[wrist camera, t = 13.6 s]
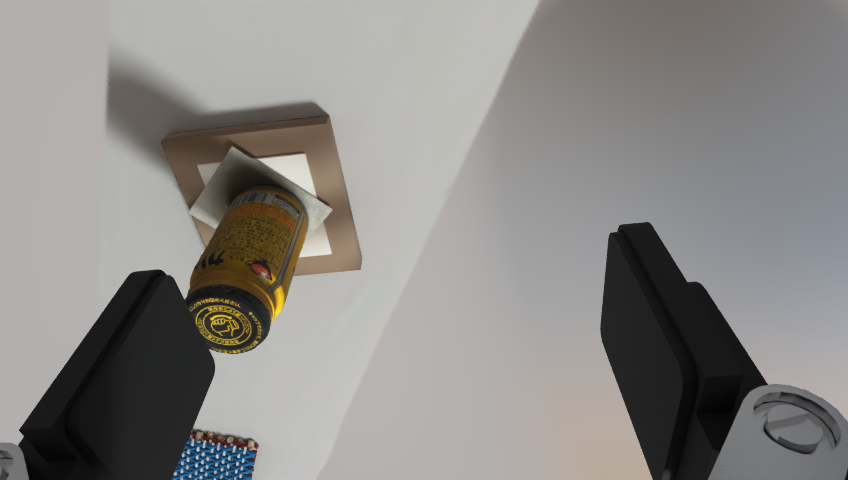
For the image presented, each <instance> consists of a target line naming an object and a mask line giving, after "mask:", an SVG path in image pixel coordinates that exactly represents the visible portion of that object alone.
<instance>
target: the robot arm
mask: <svg viewBox="0 0 848 480" xmlns="http://www.w3.org/2000/svg"><path fill="white" fill-rule="evenodd" d="M600 329H601V337H602V342H603V345H604V348H605V351H606V353H607V356H608V359H609V362H610V364H611V367H612V370H613V373H614V375H615V378H616V381H617V383H618V386H619V389H620V392H621V394H622V397H623V400H624V402H625V405H626V408H627V411H628V413H629V416H630V419H631V421H632V424H633V427H634V430H635V432H636V435H637V438H638V440H639V443H640V446H641V449H642V451H643V454H644V457H645V459H646V462H647V465H648V468H649V470H650V473H651V476H652V478H653V480H848V422H847V420H846V419H845V418H844V417H843V416H842V415H841V413H840V412H839V411H838V410H837V409H836V408H835V407H833V406H832V405H831V404H829V403H828V402H827V401H826V400H824V399H823V398H821V397H819V396H817V395H815V394H813V393H811V392H809V391H807V390H804V389H800V388H797V387H793V386H790V385H778V384H772V385H768V384H767V383H766V381H765V379H764V378H763V376H762V375H761V373H760V372H759V370H758V369H757V367H756V366H755V364H754V363H753V361H752V360H751V358H750V357H749V355H748V353H747V352H746V350H745V349H744V348H743V346H742V344H741V343H740V341H739V340H738V338H737V337H736V335H735V334H734V332H733V331H732V329H731V327H730V326H729V324H728V323H727V321H726V320H725V318H724V317H723V315H722V314H721V312H720V311H719V309H718V308H717V306H716V305H715V303H714V301H713V300H712V298H711V297H710V295H709V294H708V292H707V291H706V289H705V288H704V287H703V286H702V285H701V284H700V283H698V282H687V281H686V279H685V278H684V276H683V274H682V273H681V271H680V270H679V268H678V267H677V265H676V263H675V262H674V260H673V258H672V257H671V255H670V254H669V252H668V250H667V249H666V247H665V246H664V244H663V242H662V241H661V239H660V238H659V236H658V234H657V233H656V231H655V230H654V228H653V226H652V225H651V224H650V223H649V222H644V223H633V224H623V225H620V226H619V228H618V231H617V232H613V233H610V235H609V239H608V250H607V261H606V272H605V283H604V294H603V305H602V315H601V328H600ZM214 373H215V363H214V359H213V357H212V355H211V353H210V351H209V349H208V347H207V345H206V343H205V341H204V339H203V337H202V335H201V333H200V330H199V328H198V326H197V324H196V322H195V320H194V318H193V316H192V314H191V312H190V310H189V308H188V306H187V304H186V302H185V300H184V298H183V296H182V294H181V292H180V290H179V288H178V286H177V284H176V282H175V280H174V278H173V277H172V276H170V275H166V274H165V272H163V271H162V270H159V269H158V270H148V271H137V272H133V273H131V274H130V275H129V276H128V277H127V278H126V280H125V281H124V283H123V284H122V286H121V287H120V288H119V290H118V291H117V293H116V294H115V295H114V297H113V298H112V300H111V301H110V302H109V304H108V305H107V307H106V308H105V310H104V311H103V312H102V314H101V315H100V317H99V318H98V319H97V321H96V322H95V324H94V325H93V326H92V328H91V329H90V331H89V332H88V333H87V335H86V336H85V338H84V339H83V341H82V342H81V343H80V345H79V346H78V348H77V349H76V350H75V352H74V353H73V355H72V356H71V358H70V359H69V360H68V362H67V363H66V365H65V366H64V367H63V369H62V370H61V372H60V373H59V374H58V376H57V377H56V379H55V380H54V381H53V383H52V384H51V386H50V388H48V390H47V391H46V393H45V394H44V396H43V397H42V398H41V400H40V401H39V403H38V404H37V405H36V407H35V408H34V410H33V411H32V412H31V414H30V415H29V417H28V418H27V419H26V421H25V423H24V424H23V425H22V427H21V428H20V429H19V431H20V432H21V433H22V434H23V435H24V437H23V439H22V440H21V442H20V443H19V445H18V446H17V445H15V444H12V443H0V480H172V478H173V475H174V473H175V470H176V468H177V465H178V463H179V460H180V458H181V455H182V453H183V450H184V448H185V446H186V443H187V441H188V438H189V436H190V433H191V431H192V428H193V426H194V423H195V421H196V419H197V416H198V414H199V411H200V409H201V406H202V404H203V401H204V399H205V396H206V394H207V391H208V389H209V387H210V384H211V382H212V379H213V377H214Z"/></svg>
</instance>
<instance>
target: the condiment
mask: <svg viewBox="0 0 848 480" xmlns="http://www.w3.org/2000/svg"><path fill="white" fill-rule="evenodd" d="M225 206H226V207H227V208H225ZM332 210H333V209H331V208H330V207H328V206H327V205H325V204H324V203H322V202H321V201H319V200H318V199H316V198H315V197H313V196H312V195H310V194H308V193H306V192H305V191H304V190H302V189H301V188H299V187H298V186H296V185H294V184H293V183H291V182H289V181H288V180H286V179H284V178H283V177H281V176H279V175H277V174H275V173H274V172H272V171H271V170H270V169H268V168H267V167H265V166H263V165H262V164H261V163H259V162H257V161H256V160H254V159H252V158H250V157H248V156H247V155H245V154H243V153H242V152H240V151H239V150H237V149H236V148H234V147H233V146H232V147H231V149H230V150H229V152H228V153H227V155H226V156H225V158H224V159H223V161H222V162H221V164H220V165H219V167H218V168H217V170H216V171H215V173H214V175H213V176H212V177H211V179H210V181H209V182H208V184H207V185H206V186H205V188H204V190H203V191H202V193H201V194H200V196H199V197H198V199H197V200H196V202H195V203H194V205H193V206H192V208H191V209H190V211H189V212H188V213H189V214H191V215H192V216H194V217H195V218H197V219H199V220H201V221H203V222H205V223H206V224H208V225H209V226H211V227H213V228H215V229H216V230H215V232H214V234H213V236H212V238H211V239H210V241H209V243H208V245H207V247H206V249H205V251H204V252H203V254H202V255H201V257H200V259H199V261H198V263H197V264H196V266H195V267H194V270H193V273H192V275H191V278H190V289H189V291H188V295H187V297H186V299H185V302H186V304H187V306H188V308H189V310H190V312H191V314H192V316H193V318H194V320H195V322H196V324H197V326H198V328H199V330H200V333H201V335H202V337H203V339H204V341H205V343H206V345H207V347H208V349H211V350H214V351H216V352H221V353H229V354H238V353H243V352H247V351H250V350H252V349H254V348H256V347H257V346H258V345H259V344H261V343H262V342H263V341H264V339H266V337H267V335H268V332H269V330H270V325H271V324H272V322H273V320H274V318H275V317H277V315H278V314H279V313H280V311H281V310H282V308H283V306H284V303H285V301H286V298H287V295H288V290H289V287H290V284H291V280H292V277H293V274H294V272H295V269H296V265H297V263H298V259H299V256H300V252H301V250H302V248H303V244H304V243H305V242H306V241H307V240H308V238H309V237H310V236H311V235H312V234H313V232H314V231H315V230H316V229H317V228H318V227H319V226H320V224H321V223H322V222H323V221H324V220H325V219H326V217H327V216H328V215H329V214H330V213H331V211H332Z"/></svg>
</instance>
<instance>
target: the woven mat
mask: <svg viewBox="0 0 848 480" xmlns="http://www.w3.org/2000/svg"><path fill="white" fill-rule="evenodd" d="M213 434H214V433H213V432H208V437H206V436H205V435H204V434H203V432H199V431H198V432H197V433H193V431H191V433H190V436H189V438H188V441H187V443H186V446H185V448H184V450H183V453H182V455H181V458H180V460H179V463H178V465H177V468H176V470H175V473H174V475H173V478H172V480H251V479H252V478H251V477H252V474H251V473H252V472H253V471H254V469H253V468H254V466H253V465H254V463H255V458H256V453H257V450H253V449H254V447H255V448H256V449H257V448H258V447H259V445H257V444H256V443H255V442H254V441H252V440H249V441H248V442H245V443H243V439H239V438H238V442H233V441H234V439H233V437H231V436H230V437H228V439H227V442H226V441H223V439H224V437H223V436H220V435H219V436H218V437H217V439H213ZM195 437H196V438H195ZM193 438H195V439H193ZM203 440H204V441H203ZM206 441H207V442H206ZM246 446H247V447H246ZM243 447H244V448H243ZM250 465H252V466H250ZM243 469H244V470H243Z"/></svg>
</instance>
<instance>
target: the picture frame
mask: <svg viewBox="0 0 848 480" xmlns="http://www.w3.org/2000/svg"><path fill="white" fill-rule="evenodd" d="M161 144H162V146H163V149H164V151H165V153H166V156H167V158H168V160H169V163H170V165H171V167H172V170H173V172H174V174H175V177H176V179H177V181H178V183H179V186H180V188H181V190H182V193H183V195H184V197H185V200H186V202H187V204H188V207H189V209H191V208H192V206H193V205H194V203H195V202H196V200H197V199H198V197H199V196H200V194H201V193H202V191H203V190H204V188H205V186H206V185H207V184H208V182H209V181H210V179H211V177H212V176H213V175H214V173H215V171H216V170H217V168H218V167H219V165H220V164H221V162H222V161H223V159H224V158H225V156H226V155H227V153H228V152H229V150H230V149H231V147H232V146H233V147H234V148H236V149H237V150H239V151H240V152H242V153H243V154H245V155H247V156H248V157H250V158H252V159H254V160H256V161H257V162H259V163H261V164H262V165H263V166H265V167H267V168H268V169H270V170H271V171H272V172H274V173H275V174H277V175H279V176H281V177H283V178H284V179H286V180H288V181H289V182H291V183H293V184H294V185H296V186H298V187H299V188H301V189H302V190H304V191H305V192H306V193H308V194H310V195H312V196H313V197H315V198H316V199H318V200H319V201H321V202H322V203H324V204H325V205H327V206H328V207H330V208H331V209H333V210H332V211H331V213H330V214H329V215H328V216H327V217H326V219H325V220H324V221H323V222H322V223H321V224H320V226H319V227H318V228H317V229H316V230H315V231H314V232H313V234H312V235H311V236H310V237H309V238H308V240H307V241H306V242H305V243H304V244H303V248H302V250H301V252H300V256H299V259H298V263H297V265H296V269H295V272H294V274H293V276H299V275H310V274H320V273H331V272H342V271H352V270H361V264H362V255H361V251H360V247H359V242H358V238H357V234H356V229H355V225H354V221H353V216H352V212H351V208H350V203H349V199H348V194H347V190H346V186H345V181H344V177H343V173H342V168H341V164H340V160H339V155H338V151H337V147H336V142H335V138H334V134H333V129H332V125H331V121H330V116H320V117H311V118H302V119H294V120H285V121H276V122H267V123H259V124H250V125H241V126H232V127H224V128H215V129H206V130H197V131H189V132H180V133H171V134H168V135H167V136H166V137H165V139H164V140H163V141H162V142H161ZM225 208H227V207H226V206H225ZM193 218H194V221H195V223H196V225H197V228H198V230H199V232H200V235H201V237H202V239H203V242H204V244H205V246H206V247H207V245H208V243H209V241H210V239H211V238H212V236H213V234H214V232H215V230H216V229H215V228H213V227H211V226H209V225H208V224H206V223H205V222H203V221H201V220H199V219H197V218H195V217H194V216H193Z"/></svg>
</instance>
